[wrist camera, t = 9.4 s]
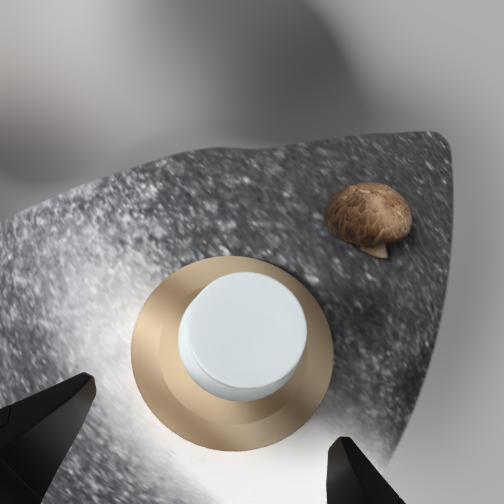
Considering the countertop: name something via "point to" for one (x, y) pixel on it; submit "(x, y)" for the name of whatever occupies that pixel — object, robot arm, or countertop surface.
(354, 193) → the mushroom
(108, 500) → the countertop surface
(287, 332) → the supplement bottle
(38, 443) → the robot arm
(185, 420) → the plate
